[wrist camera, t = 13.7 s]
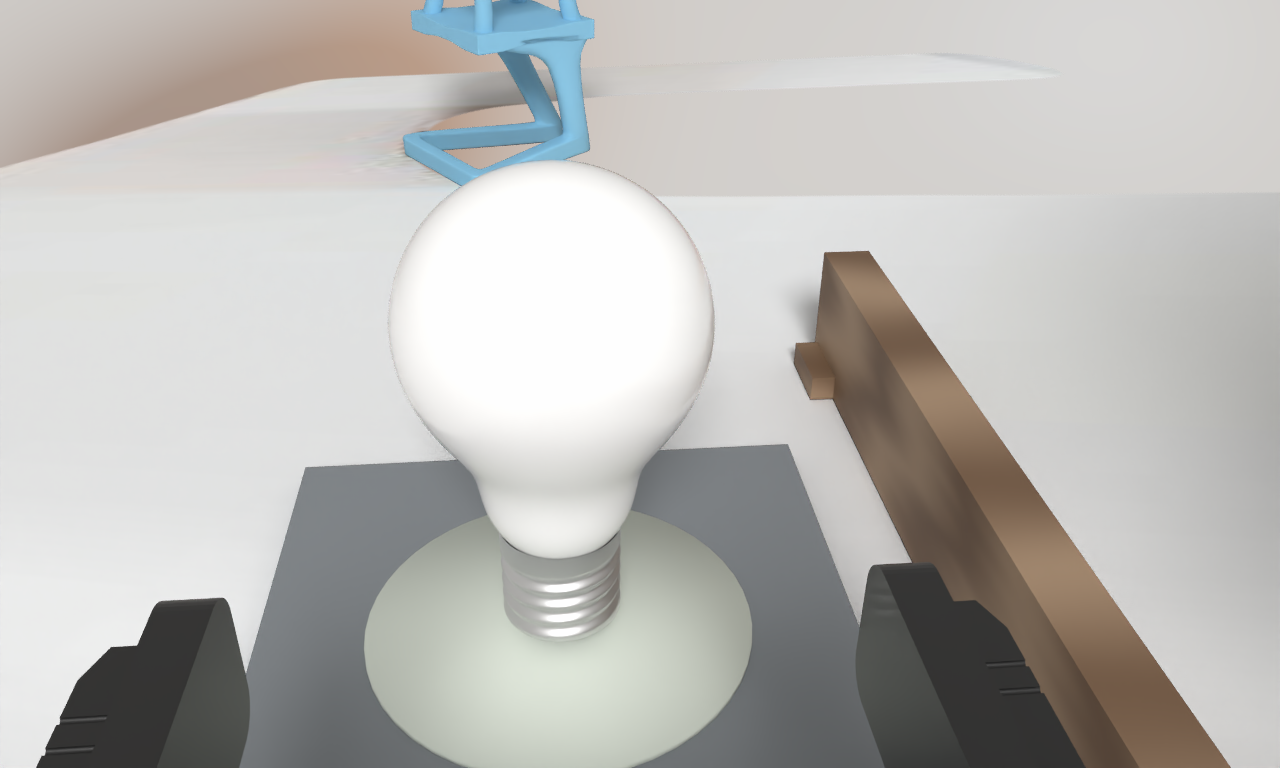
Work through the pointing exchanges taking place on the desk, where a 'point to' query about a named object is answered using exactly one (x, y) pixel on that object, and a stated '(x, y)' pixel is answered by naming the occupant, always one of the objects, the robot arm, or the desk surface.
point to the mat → (558, 671)
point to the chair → (514, 36)
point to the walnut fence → (989, 524)
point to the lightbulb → (553, 366)
